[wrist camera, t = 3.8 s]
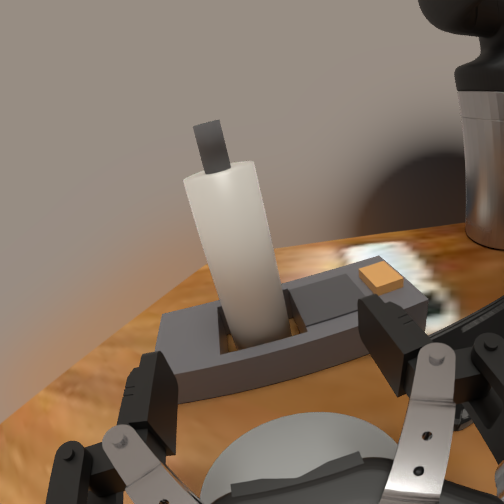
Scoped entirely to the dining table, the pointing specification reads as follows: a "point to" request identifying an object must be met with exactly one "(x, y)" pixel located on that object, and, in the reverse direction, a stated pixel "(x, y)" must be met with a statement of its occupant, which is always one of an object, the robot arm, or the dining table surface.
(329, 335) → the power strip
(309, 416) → the pad
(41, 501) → the dining table surface
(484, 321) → the phone
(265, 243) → the white and grey cylinder
